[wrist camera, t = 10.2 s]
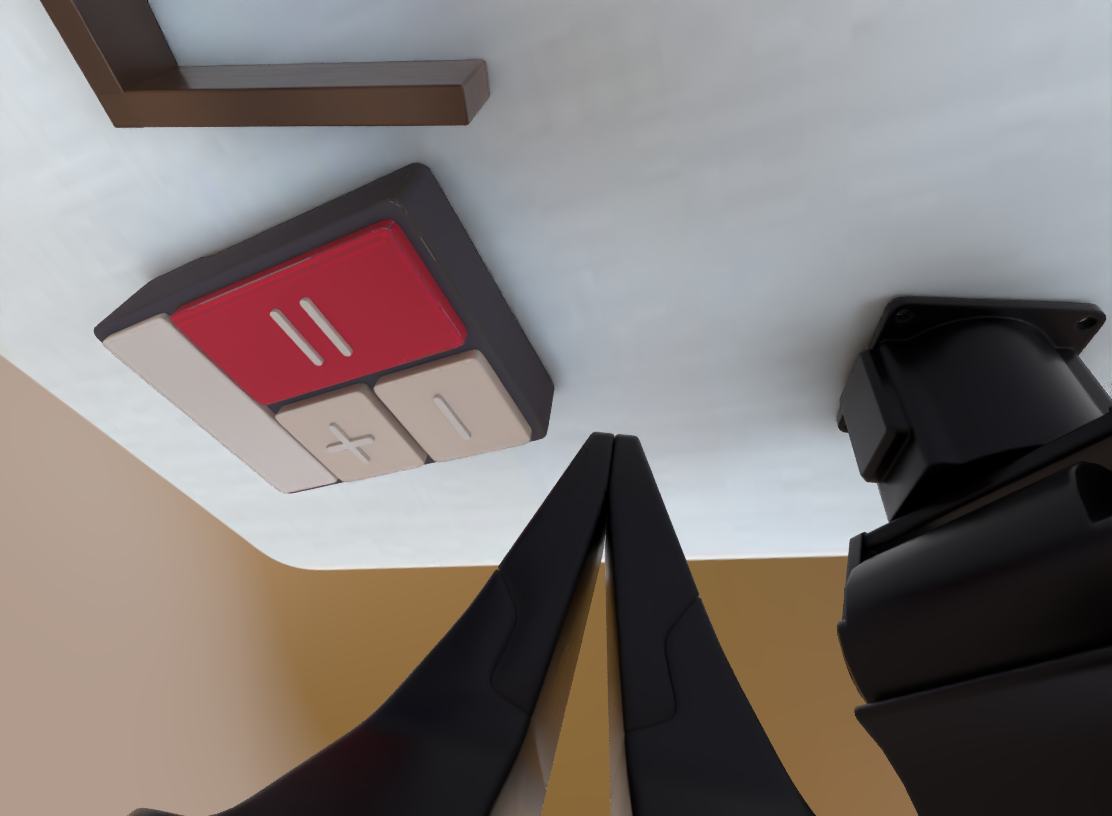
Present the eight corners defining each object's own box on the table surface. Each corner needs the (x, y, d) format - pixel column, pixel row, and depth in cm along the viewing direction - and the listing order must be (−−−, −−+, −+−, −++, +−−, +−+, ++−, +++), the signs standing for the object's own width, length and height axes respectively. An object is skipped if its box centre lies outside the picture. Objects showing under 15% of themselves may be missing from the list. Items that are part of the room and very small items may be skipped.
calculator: (548, 453, 22) (277, 508, 27) (559, 382, 25) (314, 444, 30) (387, 205, 15) (71, 343, 21) (429, 149, 18) (144, 282, 24)
